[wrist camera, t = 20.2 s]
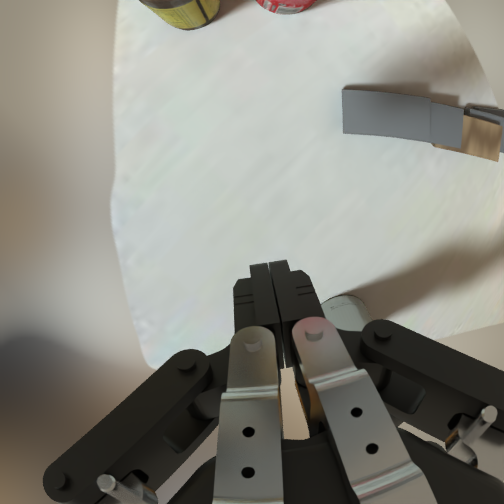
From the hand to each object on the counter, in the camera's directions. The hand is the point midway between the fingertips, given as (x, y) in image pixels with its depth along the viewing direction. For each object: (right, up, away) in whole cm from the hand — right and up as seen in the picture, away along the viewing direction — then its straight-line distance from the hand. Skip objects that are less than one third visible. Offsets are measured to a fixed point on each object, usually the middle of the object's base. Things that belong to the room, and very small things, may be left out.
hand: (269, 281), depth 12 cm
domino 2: (+15, +17, +17) cm, 29 cm away
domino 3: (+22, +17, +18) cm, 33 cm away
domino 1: (+9, +17, +17) cm, 26 cm away
